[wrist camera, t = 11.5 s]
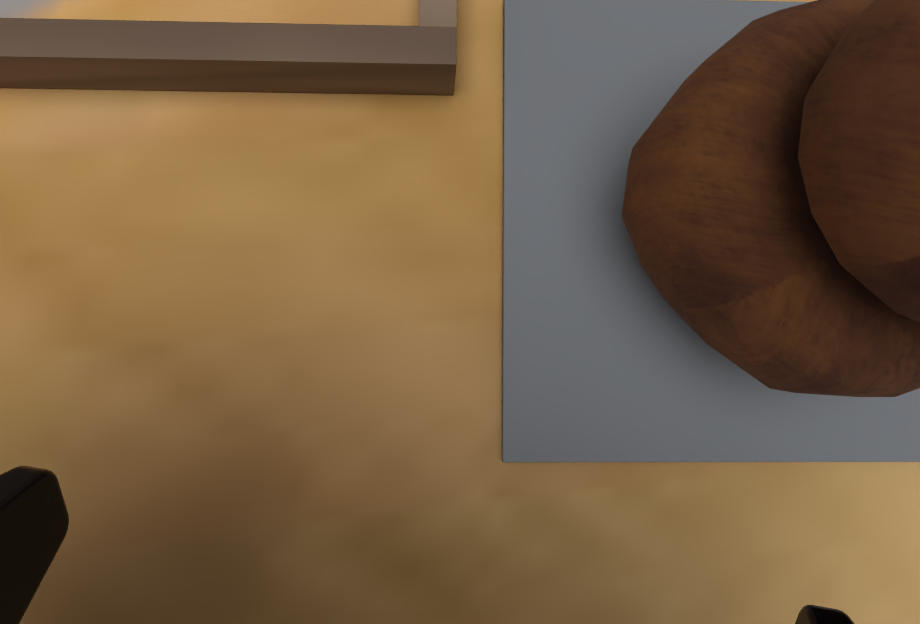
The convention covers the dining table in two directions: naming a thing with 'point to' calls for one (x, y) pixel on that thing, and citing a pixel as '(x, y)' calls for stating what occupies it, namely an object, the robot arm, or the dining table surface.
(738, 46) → the wooden figurine
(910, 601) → the dining table surface
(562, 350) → the charcoal mat
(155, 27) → the walnut holder frame
